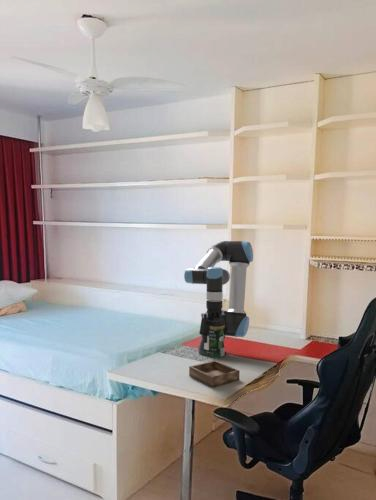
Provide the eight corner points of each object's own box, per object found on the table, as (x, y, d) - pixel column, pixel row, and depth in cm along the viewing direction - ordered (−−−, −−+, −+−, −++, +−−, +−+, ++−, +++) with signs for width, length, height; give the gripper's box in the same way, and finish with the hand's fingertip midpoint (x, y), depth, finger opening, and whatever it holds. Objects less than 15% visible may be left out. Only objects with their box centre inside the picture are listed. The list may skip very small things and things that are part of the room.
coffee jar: (200, 355, 192) (201, 316, 191) (210, 351, 198) (211, 314, 197) (217, 359, 185) (217, 319, 184) (227, 355, 191) (227, 316, 190)
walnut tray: (215, 369, 204) (215, 360, 204) (239, 380, 190) (239, 370, 189) (189, 375, 195) (189, 366, 195) (212, 387, 180) (212, 377, 180)
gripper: (226, 297, 199) (225, 342, 201) (191, 301, 187) (191, 349, 188) (236, 299, 193) (236, 346, 194) (201, 303, 181) (201, 353, 182)
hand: (214, 347), depth 191 cm, fingers closed on coffee jar, 8 cm apart
